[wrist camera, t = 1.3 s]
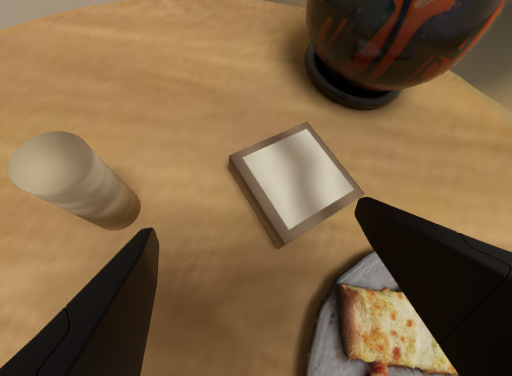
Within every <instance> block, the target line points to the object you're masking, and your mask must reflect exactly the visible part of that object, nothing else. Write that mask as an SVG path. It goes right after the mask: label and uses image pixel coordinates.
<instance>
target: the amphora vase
mask: <svg viewBox="0 0 512 376" xmlns="http://www.w3.org/2000/svg"><path fill="white" fill-rule="evenodd" d="M507 1H508V0H307V10H306V24H307V29H308V33H309V37H310V40H311V43H310V44H309V46H308V48H307V50H306V53H305V66H306V69H307V72H308V74H309V76H310V78H311V79H312V81H313V82H314V84H315V85H316V86H317V87H318V88H319V89H320V90H321V91H322V92H323V93H324V94H326V95H327V96H329V97H331V98H332V99H334V100H335V101H337V102H340V103H342V104H345V105H347V106H351V107H356V108H361V109H362V108H378V107H381V106H385V105H387V104H389V103H390V102H392V101H393V100H394V99H396V98H397V97H398V95H399V93H400V92H401V90H402V89H406V88H409V87H413V86H416V85H419V84H423V83H426V82H428V81H430V80H432V79H434V78H436V77H438V76H439V75H441V74H443V73H444V72H446V71H447V70H449V69H450V68H451V67H453V66H454V65H455V64H456V63H457V62H459V61H460V60H461V59H462V58H463V57H464V56H465V55H466V54H467V53H469V52H470V51H471V50H472V49H473V48H474V47H476V45H477V44H478V43H479V42H480V41H481V39H482V38H483V37H484V36H485V35H486V33H487V32H488V31H489V30H490V29H491V27H492V26H493V25H494V24H495V23H496V21H497V20H498V18H499V16H500V15H501V13H502V11H503V9H504V7H505V5H506V3H507Z"/></svg>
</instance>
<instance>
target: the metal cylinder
mask: <svg viewBox="0 0 512 376" xmlns="http://www.w3.org/2000/svg"><path fill="white" fill-rule="evenodd" d="M8 175H9V178H10V179H11V181H12V182H13V183H14V184H15V185H16V186H17V187H19V188H21V189H23V190H25V191H27V192H29V193H31V194H33V195H35V196H37V197H39V198H41V199H43V200H46V201H48V202H50V203H52V204H54V205H56V206H58V207H60V208H62V209H64V210H66V211H68V212H71V213H73V214H75V215H77V216H79V217H81V218H83V219H85V220H87V221H89V222H91V223H93V224H96V225H98V226H100V227H102V228H104V229H107V230H120V229H123V228H125V227H127V226H129V225H130V224H131V223H133V222H134V221H135V219H136V218H137V217H138V215H139V212H140V201H139V199H138V197H137V196H136V195H135V194H134V193H133V192H132V191H131V190H130V188H129V187H128V186H127V185H126V184H125V183H124V182H123V181H122V180H121V179H120V178H119V177H118V176H117V175H116V174H115V173H114V172H113V171H112V170H111V169H110V167H109V166H108V165H107V164H106V163H105V162H104V161H103V160H102V159H101V158H100V157H99V156H98V155H97V154H96V153H95V152H94V151H93V150H92V149H91V147H90V146H89V145H88V144H87V143H86V142H85V141H84V140H83V139H82V138H80V137H79V136H77V135H75V134H72V133H68V132H49V133H44V134H41V135H38V136H35V137H33V138H31V139H29V140H27V141H26V142H24V143H23V144H22V145H21V146H19V147H18V148H17V149H16V151H15V152H14V153H13V154H12V156H11V158H10V160H9V163H8Z"/></svg>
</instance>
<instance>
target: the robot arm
mask: <svg viewBox="0 0 512 376" xmlns="http://www.w3.org/2000/svg"><path fill="white" fill-rule="evenodd" d="M355 217H356V219H357V221H358V223H359V225H360V226H361V228H362V230H363V232H364V234H365V236H366V237H367V239H368V241H369V243H370V245H371V246H372V248H373V249H374V251H375V252H376V254H377V255H378V257H379V258H380V259H381V261H382V262H383V264H384V265H385V267H386V268H387V270H388V271H389V273H390V274H391V276H392V277H393V279H394V280H395V282H396V283H397V285H398V286H399V288H400V289H401V290H402V292H403V293H404V295H405V296H406V298H407V299H408V301H409V302H410V304H411V305H412V307H413V308H414V310H415V311H416V313H417V314H418V316H419V317H420V318H421V320H422V321H423V323H424V324H425V326H426V327H427V329H428V330H429V332H430V333H431V335H432V336H433V338H434V339H435V341H436V342H437V344H439V347H440V348H441V350H442V351H443V353H444V354H445V356H446V357H447V359H448V360H449V362H450V363H451V365H452V366H453V367H454V369H455V370H456V372H457V373H458V375H459V376H512V252H510V251H507V250H504V249H501V248H498V247H496V246H493V245H490V244H487V243H485V242H482V241H479V240H477V239H474V238H471V237H469V236H466V235H464V234H461V233H457V232H456V231H454V230H451V229H449V228H446V227H444V226H441V225H438V224H436V223H433V222H431V221H428V220H426V219H423V218H421V217H418V216H416V215H413V214H411V213H408V212H406V211H403V210H401V209H398V208H396V207H393V206H390V205H388V204H385V203H383V202H380V201H378V200H375V199H373V198H370V197H363V198H360V199H359V200H358V202H357V206H356V209H355ZM158 260H159V242H158V239H157V236H156V233H155V230H154V228H152V227H150V228H143V229H141V230H140V231H139V232H138V233H137V234H136V235H135V236H134V237H133V238H132V239H131V240H130V241H129V242H128V243H127V244H126V245H125V246H124V247H123V248H122V249H121V250H120V251H119V252H118V253H117V254H116V255H115V256H114V257H113V258H112V259H111V260H110V261H109V262H108V263H107V264H106V265H105V266H104V267H103V269H102V270H101V271H100V272H99V273H98V274H97V275H96V276H95V277H94V278H93V279H92V280H91V281H90V282H89V283H88V284H87V285H86V286H85V287H84V288H83V289H82V290H81V291H80V292H79V293H78V294H77V295H76V296H75V297H74V298H73V299H72V300H71V301H70V302H69V303H68V304H67V305H66V307H65V308H63V309H62V310H61V311H60V312H59V313H58V314H57V315H56V316H55V317H54V318H53V319H52V320H51V321H50V322H49V323H48V324H47V325H46V326H45V327H44V328H43V329H42V330H41V331H40V332H39V333H38V334H37V335H36V336H35V337H34V338H33V339H32V340H31V341H30V342H28V343H27V344H26V345H25V346H24V347H23V348H22V349H21V350H20V351H19V352H18V353H17V354H16V355H14V356H13V357H12V358H11V359H10V360H9V361H8V362H7V363H6V364H5V365H3V366H2V367H1V368H0V376H140V374H141V368H142V363H143V358H144V352H145V347H146V341H147V336H148V330H149V325H150V320H151V314H152V309H153V303H154V298H155V292H156V286H157V276H158Z"/></svg>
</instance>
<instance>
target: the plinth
mask: <svg viewBox="0 0 512 376" xmlns="http://www.w3.org/2000/svg"><path fill="white" fill-rule="evenodd" d="M229 170H230V172H231V173H232V175H233V177H234V178H235V180H236V181H237V183H238V185H239V186H240V188H241V190H242V191H243V193H244V195H245V196H246V198H247V199H248V201H249V203H250V204H251V206H252V208H253V209H254V211H255V212H256V214H257V216H258V217H259V219H260V221H261V222H262V224H263V226H264V227H265V229H266V230H267V232H268V234H269V235H270V237H271V239H272V240H273V242H274V243H275V245H276V247H277V248H278V249H279V248H281V247H283V246H284V245H286V244H287V243H289V242H291V241H292V240H294V239H295V238H297V237H298V236H300V235H301V234H303V233H305V232H306V231H308V230H309V229H311V228H312V227H314V226H316V225H317V224H319V223H320V222H322V221H323V220H325V219H327V218H328V217H330V216H331V215H333V214H334V213H336V212H337V211H339V210H341V209H342V208H344V207H345V206H347V205H348V204H350V203H352V202H353V201H355V200H356V199H358V198H359V197H361V196H363V195H364V194H365V193H364V192H363V191H362V190H361V188H360V187H359V186H358V185H357V183H356V182H355V181H354V180H353V178H352V177H351V176H350V175H349V173H348V172H347V171H346V170H345V168H344V167H343V166H342V165H341V163H340V162H339V161H338V160H337V158H336V157H335V156H334V154H333V153H332V152H331V151H330V149H329V148H328V147H327V146H326V144H325V143H324V142H323V141H322V139H321V138H320V137H319V136H318V134H317V133H316V132H315V131H314V129H313V128H312V127H311V126H310V124H309V123H308V122H305V123H303V124H301V125H299V126H296V127H294V128H292V129H289V130H287V131H285V132H282V133H280V134H278V135H275V136H273V137H271V138H268V139H266V140H264V141H262V142H259V143H257V144H255V145H252V146H250V147H248V148H245V149H243V150H241V151H238V152H236V153H234V154H232V155H229Z"/></svg>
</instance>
